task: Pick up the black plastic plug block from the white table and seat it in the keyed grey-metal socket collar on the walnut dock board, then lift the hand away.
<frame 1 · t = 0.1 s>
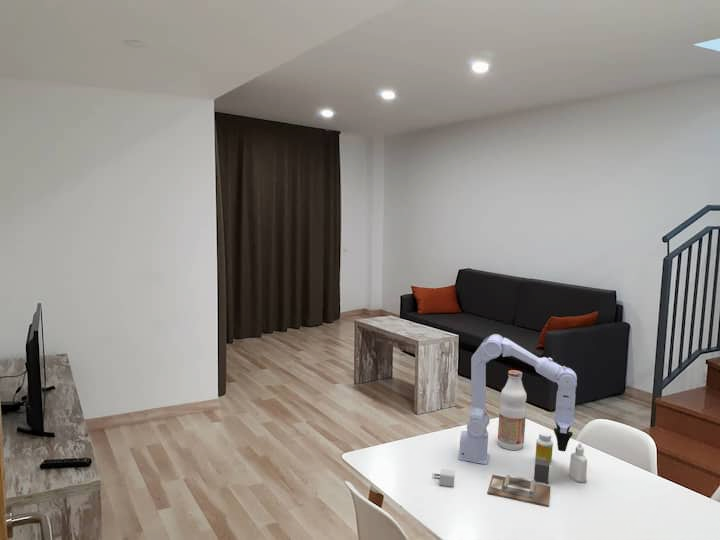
hand: (561, 445, 181), 10 cm above the table, tool pointing down, fingers open, 7 cm apart
fruit juice: (510, 445, 204), on the table
eye dropper bottle: (577, 479, 180), on the table
socket dock: (519, 490, 171), on the table
supplement bottle: (543, 461, 192), on the table
usb wall charger: (442, 483, 175), on the table
plug: (541, 480, 178), on the table
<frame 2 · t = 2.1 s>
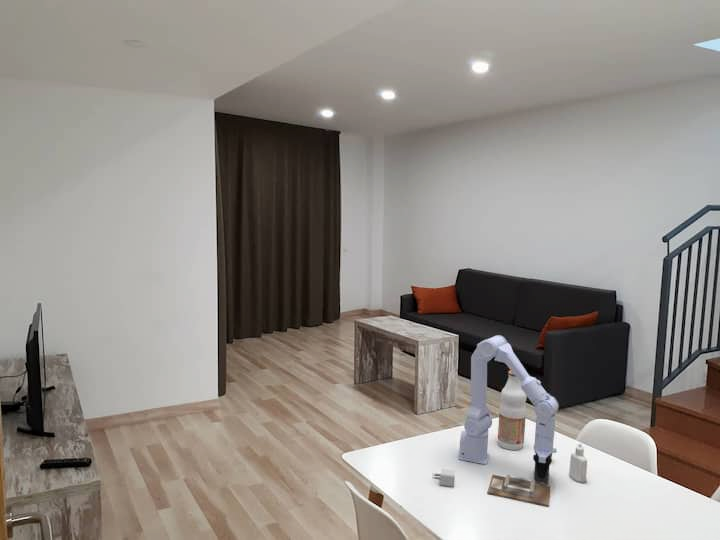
hand: (541, 474, 178), 2 cm above the table, tool pointing down, fingers closed on plug, 3 cm apart
plug: (541, 480, 178), on the table, touching gripper
everything else where it was.
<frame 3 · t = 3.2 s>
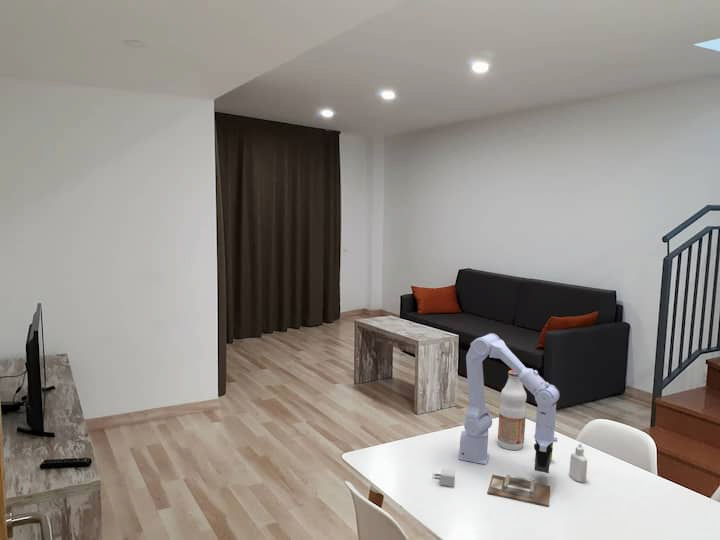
hand: (542, 463, 178), 6 cm above the table, tool pointing down, fingers closed on plug, 3 cm apart
plug: (541, 469, 178), point 4 cm above the table, touching gripper
everything else where it was.
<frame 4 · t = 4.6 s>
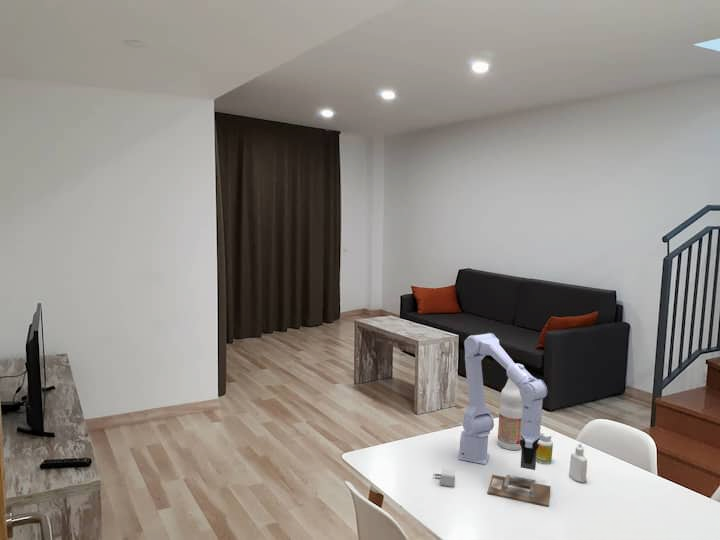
hand: (528, 460, 173), 9 cm above the table, tool pointing down, fingers closed on plug, 3 cm apart
plug: (528, 466, 173), point 7 cm above the table, touching gripper
everything else where it was.
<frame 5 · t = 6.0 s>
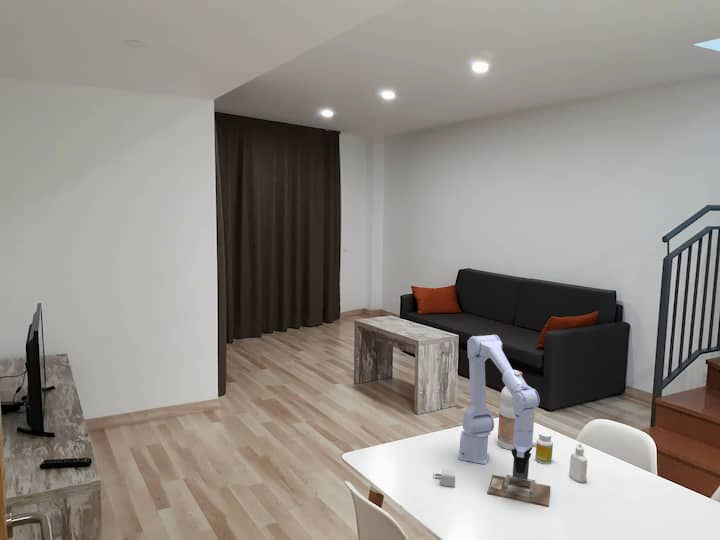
hand: (520, 470, 170), 7 cm above the table, tool pointing down, fingers closed on plug, 3 cm apart
plug: (520, 475, 171), point 5 cm above the table, touching gripper
everything else where it was.
when the fingers open (3 cm above the table, at t = 7.1 s): plug stays where it is, resting on socket dock.
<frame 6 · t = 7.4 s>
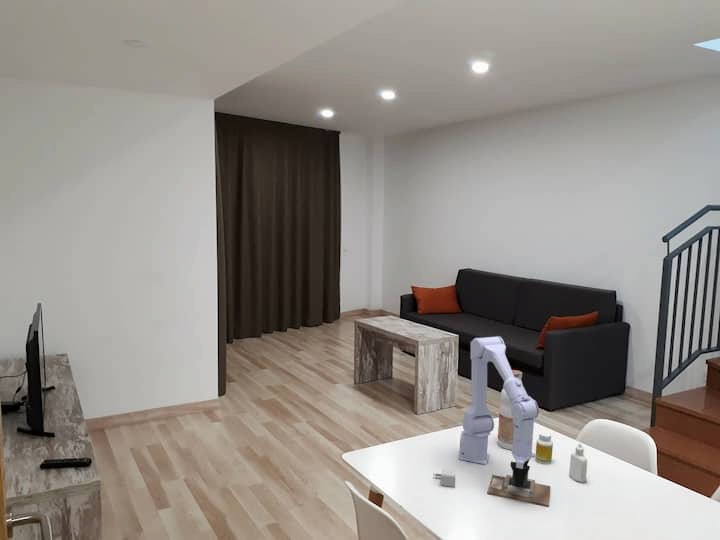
hand: (519, 480, 171), 4 cm above the table, tool pointing down, fingers open, 6 cm apart
plug: (519, 489, 171), point 1 cm above the table, touching socket dock
everything else where it was.
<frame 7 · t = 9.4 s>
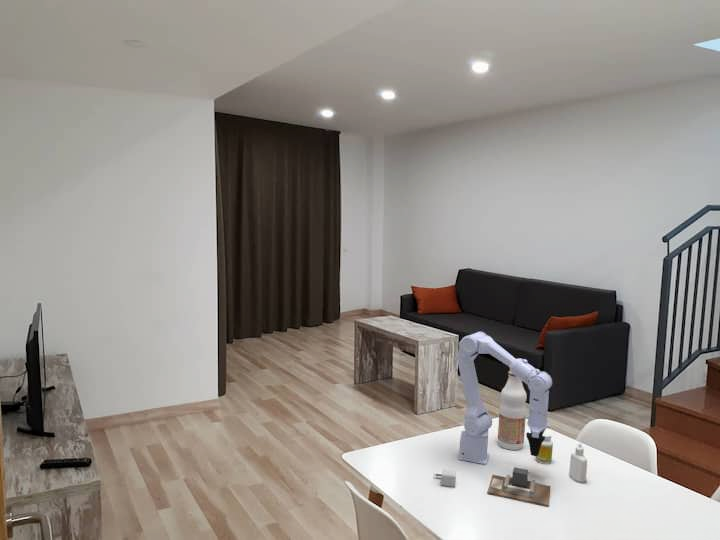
hand: (535, 450, 179), 9 cm above the table, tool pointing down, fingers open, 7 cm apart
nothing on the table moved.
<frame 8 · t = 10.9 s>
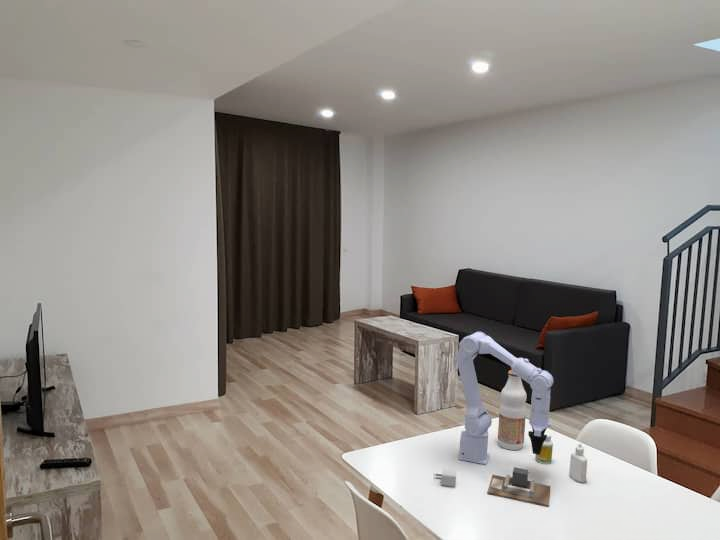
hand: (537, 448, 180), 9 cm above the table, tool pointing down, fingers open, 7 cm apart
nothing on the table moved.
at the end: plug 0.0 cm off-centre on the socket dock, point 0.6 cm above the socket dock's base; plug tilted 0°; the gripper is holding nothing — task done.
